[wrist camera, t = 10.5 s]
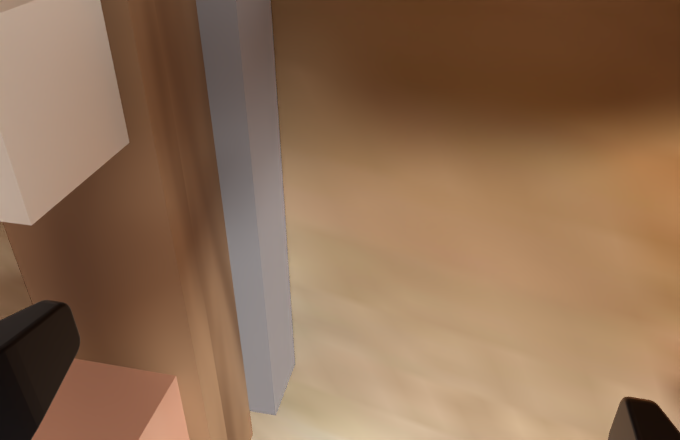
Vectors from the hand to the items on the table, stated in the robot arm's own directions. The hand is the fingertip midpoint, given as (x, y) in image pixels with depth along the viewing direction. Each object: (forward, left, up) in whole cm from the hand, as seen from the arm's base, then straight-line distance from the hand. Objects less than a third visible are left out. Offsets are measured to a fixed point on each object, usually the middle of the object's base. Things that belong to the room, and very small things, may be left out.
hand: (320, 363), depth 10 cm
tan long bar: (+9, +4, -10) cm, 13 cm away
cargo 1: (+9, -2, -6) cm, 11 cm away
